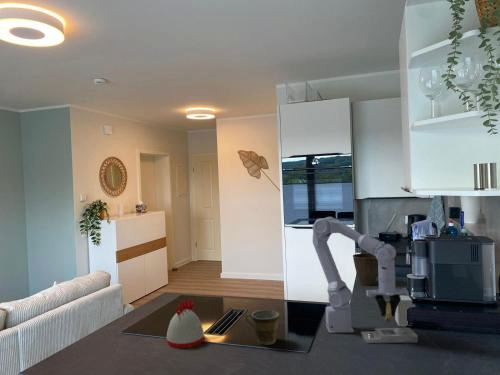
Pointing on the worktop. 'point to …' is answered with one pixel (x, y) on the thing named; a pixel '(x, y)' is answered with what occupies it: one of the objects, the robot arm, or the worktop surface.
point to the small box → (403, 310)
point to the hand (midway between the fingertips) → (387, 315)
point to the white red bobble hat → (185, 327)
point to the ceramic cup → (265, 325)
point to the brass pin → (388, 310)
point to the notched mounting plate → (390, 335)
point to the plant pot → (366, 268)
